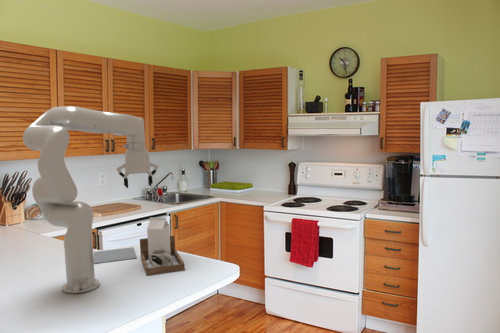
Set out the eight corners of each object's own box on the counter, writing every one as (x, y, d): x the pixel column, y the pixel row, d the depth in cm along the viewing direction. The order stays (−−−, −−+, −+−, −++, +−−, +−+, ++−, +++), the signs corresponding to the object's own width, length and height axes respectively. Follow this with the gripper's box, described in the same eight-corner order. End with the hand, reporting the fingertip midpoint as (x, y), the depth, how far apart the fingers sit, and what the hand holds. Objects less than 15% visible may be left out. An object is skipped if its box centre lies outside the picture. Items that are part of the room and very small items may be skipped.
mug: (148, 269, 177) (147, 253, 176) (159, 264, 183) (158, 248, 182) (168, 272, 172) (167, 256, 172) (178, 267, 178) (177, 251, 177)
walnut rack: (184, 270, 174) (183, 248, 173) (146, 275, 169) (145, 253, 168) (175, 254, 195) (174, 235, 194) (140, 259, 190) (139, 239, 189)
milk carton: (164, 264, 183) (162, 219, 181) (148, 263, 184) (146, 219, 182) (171, 258, 190) (168, 215, 188) (155, 258, 191) (153, 215, 189)
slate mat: (136, 258, 191) (136, 257, 191) (93, 264, 186) (93, 263, 186) (133, 247, 208) (133, 247, 208) (93, 252, 203) (93, 251, 202)
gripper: (115, 148, 179) (118, 189, 180) (158, 146, 185) (160, 185, 187) (114, 147, 186) (116, 187, 187) (155, 145, 192) (157, 183, 194)
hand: (138, 186), depth 187 cm, fingers open, 9 cm apart
